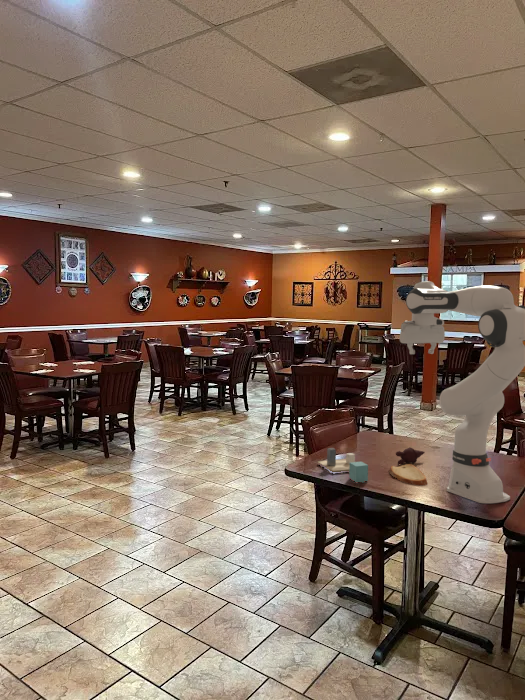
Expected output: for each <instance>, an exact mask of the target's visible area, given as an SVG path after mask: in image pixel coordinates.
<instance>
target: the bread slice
mask: <svg viewBox="0 0 525 700" xmlns="http://www.w3.org/2000/svg"><path fill="white" fill-rule="evenodd" d="M388 471H389V473H388V474H389V475H390V474H391V475H392V476H393V477H392V476H391V475H390V476H391V477H392V478H394V477H395V478H394V479H396V478H397V479H398V480H397V479H396V480H397V481H399V480H400V482H403V483H404V484H409V485H412V486H413V485H414V486H427V485H428V480H427V477H426V475H425V474H424V473H423V471H421V470H420V469H419V468H418V467H416V466H415V465H413V463H407V464H402V465H399V466H395V465H391V466H390V468H389V470H388Z"/></svg>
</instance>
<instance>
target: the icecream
mask: <svg viewBox="0 0 525 700" xmlns="http://www.w3.org/2000/svg"><path fill="white" fill-rule="evenodd" d="M423 455H425V451H424V450H417V449H414V448H413V447H411V446H410V447H408V448H405V449H403V451H400V450H398V451H396V452H395V456H396V457H400V459H399V460H398V461H397V465H399V464H402V465H405V463H407V464H414V463H417V462H418V458H420V457H421V456H423Z"/></svg>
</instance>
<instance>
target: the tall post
mask: <svg viewBox="0 0 525 700" xmlns="http://www.w3.org/2000/svg"><path fill="white" fill-rule="evenodd" d="M326 452H327V453H326V454H327V455H326V457H327V458H326V460H327V465H328V466H336V459H337V449H336V448H334V447H329V448H327V451H326Z"/></svg>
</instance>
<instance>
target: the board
mask: <svg viewBox="0 0 525 700" xmlns="http://www.w3.org/2000/svg"><path fill="white" fill-rule="evenodd" d="M317 462H318V463H320V464H322V465H323V466H325V467H326V468H327V469H329V470H330V471H332V472H341V471H349V466H350V464H347V463H346V458H339V459H337V458H336V466H328V465H327V459H325V460H318V461H316V463H317Z"/></svg>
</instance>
